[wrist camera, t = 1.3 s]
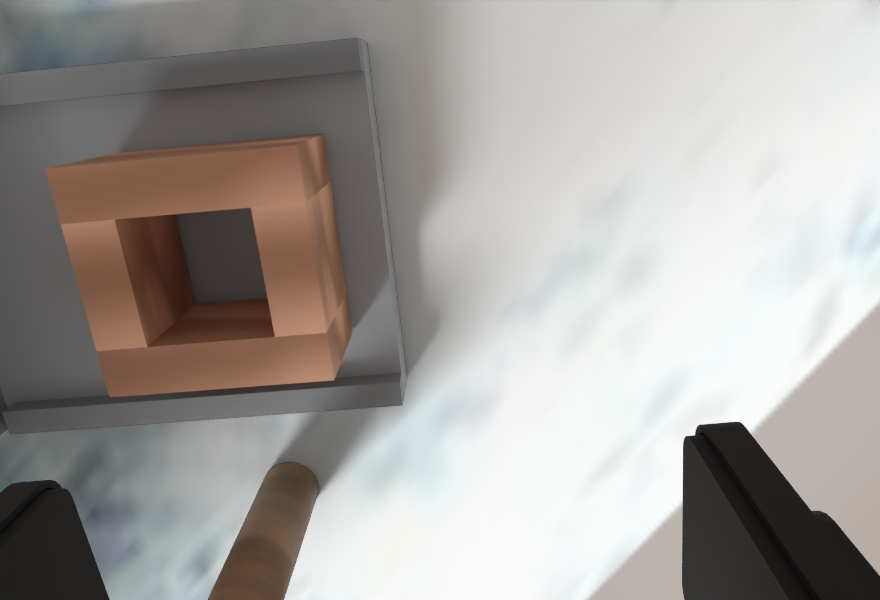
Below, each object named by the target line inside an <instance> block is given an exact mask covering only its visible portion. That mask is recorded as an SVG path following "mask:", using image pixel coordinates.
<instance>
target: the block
mask: <svg viewBox="0 0 880 600" xmlns="http://www.w3.org/2000/svg"><path fill="white" fill-rule="evenodd" d="M45 171H46V174H47V178H48V181H49V185H50V188H51V192H52V195H53V199H54V202H55V206H56V209H57V213H58V216H59V220H60V223H61V227H62V231H63V234H64V238H65V241H66V245H67V248H68V252H69V255H70V259H71V262H72V266H73V269H74V273H75V276H76V280H77V283H78V287H79V290H80V294H81V297H82V301H83V304H84V308H85V312H86V315H87V319H88V322H89V326H90V329H91V333H92V336H93V340H94V343H95V347H96V350H97V354H98V357H99V361H100V364H101V368H102V371H103V375H104V378H105V382H106V386H107V389H108V393H109V396H110V397H122V396H136V395H149V394H162V393H175V392H188V391H201V390H214V389H227V388H240V387H254V386H267V385H280V384H293V383H306V382H319V381H332V380H335V377H336V374H337V372H338V369H339V367H340V364H341V362H342V359H343V356H344V354H345V351H346V349H347V346H348V344H349V341H350V338H351V336H352V333H353V332H352V325H351V318H350V311H349V304H348V297H347V290H346V283H345V276H344V270H343V263H342V256H341V249H340V242H339V235H338V228H337V221H336V214H335V208H334V201H333V194H332V187H331V180H330V173H329V166H328V159H327V152H326V146H325V139H324V134H313V135H303V136H292V137H281V138H271V139H260V140H249V141H239V142H228V143H217V144H207V145H196V146H186V147H175V148H164V149H154V150H143V151H132V152H122V153H113V154H109V155H104V156H100V157H95V158H91V159H86V160H82V161H77V162H73V163H69V164H64V165H60V166H55V167H51V168H46V169H45ZM240 208H251V212H252V217H253V222H254V228H255V233H256V239H257V244H258V249H259V255H260V260H261V265H262V271H263V276H264V281H265V287H266V292H267V297H268V298H267V299H254V300H242V301H230V302H218V303H206V304H195V300H194V295H193V291H192V286H191V282H190V278H189V273H188V269H187V264H186V260H185V255H184V251H183V247H182V242H181V238H180V233H179V229H178V224H177V220H176V215H175V214H184V213H195V212H206V211H217V210H229V209H240Z"/></svg>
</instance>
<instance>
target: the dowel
mask: <svg viewBox="0 0 880 600" xmlns="http://www.w3.org/2000/svg"><path fill="white" fill-rule="evenodd" d="M318 491H319V486H318V481H317V479H316V477H315V475H314V474H313V473H312V472H311V471H310V470H309V469H308V468H306V467H304V466H302V465H300V464H296V463H282V464H278V465H276V466H274V467H273V468H271V469H270V470H269V471H268V473H267V474H266V476H265V478H264V480H263V482H262V485H261V487H260V489H259V491H258V493H257V495H256V497H255V499H254V502H253V504H252V506H251V508H250V510H249V512H248V514H247V517H246V519H245V521H244V523H243V525H242V527H241V529H240V532H239V534H238V536H237V538H236V540H235V542H234V544H233V547H232V549H231V551H230V553H229V555H228V557H227V559H226V562H225V564H224V566H223V568H222V570H221V572H220V574H219V577H218V579H217V581H216V583H215V585H214V587H213V589H212V592H211V594H210V596H209V598H208V600H284V598H285V594H286V591H287V588H288V585H289V582H290V579H291V576H292V573H293V570H294V566H295V563H296V560H297V557H298V554H299V551H300V548H301V545H302V542H303V538H304V535H305V532H306V529H307V526H308V523H309V520H310V517H311V514H312V510H313V507H314V504H315V501H316V498H317V495H318Z"/></svg>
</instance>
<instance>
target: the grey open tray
mask: <svg viewBox="0 0 880 600" xmlns="http://www.w3.org/2000/svg"><path fill="white" fill-rule="evenodd" d="M313 134H324V139H325V146H326V152H327V159H328V166H329V173H330V180H331V187H332V194H333V201H334V208H335V214H336V221H337V228H338V235H339V242H340V249H341V256H342V263H343V270H344V276H345V283H346V290H347V297H348V304H349V311H350V318H351V325H352V332H353V333H352V336H351V338H350V341H349V344H348V346H347V349H346V351H345V354H344V356H343V359H342V362H341V364H340V367H339V369H338V372H337V374H336V377H335V380H332V381H319V382H306V383H293V384H280V385H267V386H254V387H240V388H227V389H214V390H201V391H188V392H175V393H162V394H149V395H136V396H122V397H110V396H109V393H108V389H107V386H106V382H105V378H104V375H103V371H102V368H101V364H100V361H99V357H98V354H97V350H96V347H95V343H94V340H93V336H92V333H91V329H90V326H89V322H88V319H87V315H86V312H85V308H84V304H83V301H82V297H81V294H80V290H79V287H78V283H77V280H76V276H75V273H74V269H73V266H72V262H71V259H70V255H69V252H68V248H67V245H66V241H65V238H64V234H63V231H62V227H61V223H60V220H59V216H58V213H57V209H56V206H55V202H54V199H53V195H52V192H51V188H50V185H49V181H48V178H47V174H46V171H45V169H46V168H51V167H55V166H60V165H64V164H69V163H73V162H77V161H82V160H86V159H91V158H95V157H100V156H104V155H109V154H113V153H122V152H132V151H143V150H154V149H164V148H175V147H186V146H196V145H207V144H217V143H228V142H239V141H249V140H260V139H271V138H281V137H292V136H303V135H313ZM175 215H176V220H177V224H178V229H179V233H180V238H181V242H182V247H183V251H184V255H185V260H186V264H187V269H188V273H189V278H190V282H191V286H192V291H193V295H194V300H195V304H206V303H218V302H230V301H242V300H254V299H267V298H268V297H267V292H266V287H265V281H264V276H263V271H262V265H261V260H260V255H259V249H258V244H257V239H256V233H255V228H254V222H253V217H252V212H251V208H240V209H229V210H217V211H206V212H195V213H184V214H175ZM406 380H407V374H406V366H405V357H404V349H403V341H402V332H401V324H400V315H399V307H398V299H397V290H396V282H395V273H394V265H393V257H392V248H391V240H390V232H389V223H388V215H387V206H386V198H385V190H384V181H383V173H382V164H381V156H380V148H379V139H378V131H377V122H376V114H375V106H374V97H373V89H372V80H371V72H370V64H369V55H368V47H367V42H366V41H363V40H361V39H358V38H353V39H343V40H333V41H323V42H313V43H303V44H293V45H283V46H273V47H263V48H253V49H243V50H233V51H223V52H213V53H204V54H194V55H184V56H174V57H164V58H154V59H144V60H134V61H124V62H114V63H104V64H94V65H84V66H74V67H64V68H54V69H44V70H34V71H24V72H14V73H5V74H0V435H1V434H2V433H3V432H4V431H6V430H7V429H8V430H9V433H10V434H21V433H35V432H48V431H62V430H75V429H89V428H102V427H116V426H129V425H143V424H156V423H170V422H183V421H197V420H210V419H224V418H237V417H251V416H264V415H278V414H291V413H305V412H318V411H332V410H345V409H359V408H372V407H386V406H399V405H403V400H404V393H405V386H406Z"/></svg>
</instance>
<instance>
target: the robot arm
mask: <svg viewBox="0 0 880 600" xmlns="http://www.w3.org/2000/svg"><path fill="white" fill-rule="evenodd" d="M682 545H683V546H682V547H683V548H682V550H683V551H682V586H683V594H684V599H685V600H880V576H879V575H878V574H877V572H876V571H875V570H874V569H873V567H872V566H871V565H870V564H869V562H868V561H867V560H866V559H865V558H864V556H863V555H862V554H861V553H860V552H859V551H858V549H857V548H856V547H855V545H854V544H853V543H852V542H851V541H850V539H849V538H848V537H847V536H846V535H845V534H844V532H843V531H842V530H841V528H840V527H839V526H838V525H837V524H836V522H835V521H834V520H833V519H832V518H831V517H830V516H828V515H827V514H826V513H823V512H821V511H811V510H810V509H809V508H808V506H807V505H806V504H805V502H804V501H803V500H802V499H801V497H800V496H799V495H798V493H797V492H796V491H795V490H794V488H793V487H792V486H791V485H790V483H789V482H788V481H787V480H786V478H785V477H784V476H783V474H782V473H781V472H780V471H779V469H778V468H777V467H776V466H775V464H774V463H773V462H772V461H771V459H770V458H769V457H768V455H767V454H766V453H765V452H764V450H763V449H762V448H761V447H760V445H759V444H758V443H757V441H756V440H755V439H754V438H753V436H752V435H751V434H750V433H749V431H748V430H747V429H746V428H745V426H744V425H743V424H742V423H741V422H729V423H717V424H705V425H699V426H698V427H697V429H696V433H695V436H686V437H685V439H684V444H683V544H682ZM0 600H109V597H108V594H107V592H106V589H105V586H104V583H103V581H102V578H101V575H100V572H99V570H98V567H97V564H96V561H95V558H94V556H93V553H92V550H91V547H90V545H89V542H88V539H87V536H86V534H85V531H84V528H83V525H82V523H81V520H80V517H79V514H78V512H77V509H76V506H75V503H74V501H73V498H72V496H71V494H70V492H69V491H68V490H66V489H63V488H61V486H60V485H59V484H58V483H57V482H56V481H52V480H44V481H32V482H20V483H14V484H11V485H9V486H8V487H6V488H5V489H4V490H3V491H2V492H1V493H0Z"/></svg>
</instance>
